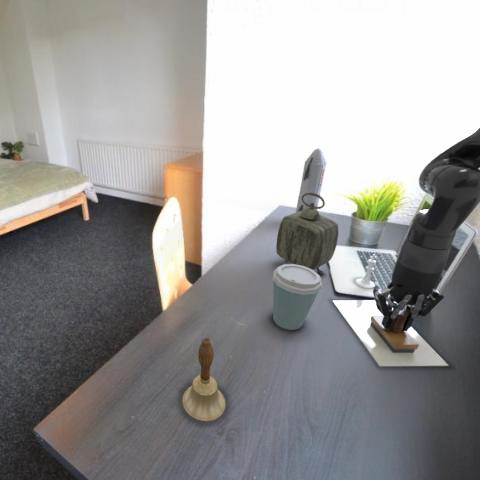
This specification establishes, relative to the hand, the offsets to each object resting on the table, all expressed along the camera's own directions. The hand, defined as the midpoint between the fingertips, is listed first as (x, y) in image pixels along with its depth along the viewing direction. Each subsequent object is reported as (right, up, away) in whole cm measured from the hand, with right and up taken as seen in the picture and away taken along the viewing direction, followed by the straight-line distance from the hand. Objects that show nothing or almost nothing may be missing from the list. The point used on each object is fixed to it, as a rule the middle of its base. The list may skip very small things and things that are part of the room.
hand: (394, 328), depth 74 cm
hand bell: (-44, -11, -12) cm, 47 cm away
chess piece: (+6, +7, +21) cm, 23 cm away
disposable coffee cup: (-21, -1, +8) cm, 22 cm away
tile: (0, -2, +4) cm, 5 cm away
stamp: (0, -3, +1) cm, 3 cm away
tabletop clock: (-10, +10, +29) cm, 32 cm away
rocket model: (+5, +25, +59) cm, 64 cm away
